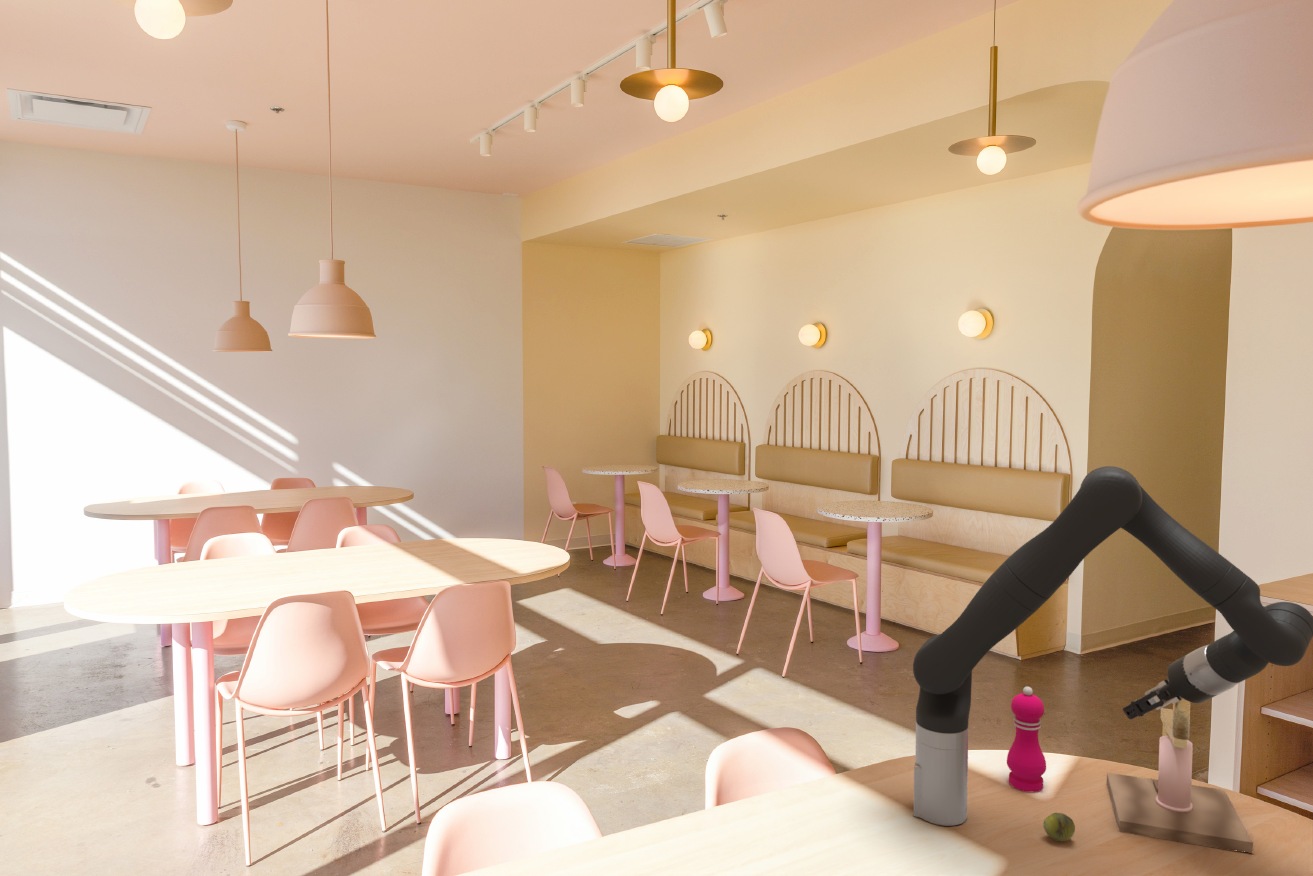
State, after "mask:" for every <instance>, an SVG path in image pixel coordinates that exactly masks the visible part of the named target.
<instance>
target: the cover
mask: <svg viewBox="0 0 1313 876" xmlns="http://www.w3.org/2000/svg"><path fill="white" fill-rule="evenodd" d="M1158 745H1159V746H1158V749H1159V750H1158V775H1157V776H1158V777H1157V778H1158V779H1157V780H1158V795H1157V796H1156V803H1157V804H1158V805H1159V806H1161V807H1162V808H1164V809H1167V810H1170V811H1174V812H1180V813H1186V812H1190V811H1192V807H1193V805H1192V803H1191V785H1192V780H1193V779H1192V776H1193V772H1192V771H1193V748H1194V747H1193V745H1194V743H1193V742H1192V741H1191V740H1189V739H1188V740H1187V748H1180V747H1174V746H1173V744H1172V742H1171V740H1170V737H1169V736H1160V737H1159V743H1158Z"/></svg>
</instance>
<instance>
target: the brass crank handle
mask: <svg viewBox="0 0 1313 876" xmlns="http://www.w3.org/2000/svg"><path fill="white" fill-rule="evenodd" d="M1159 717H1160V720H1161V722H1162V736H1169V737H1170V740H1171V742H1172V744H1173V746H1174V747H1180V748H1187V740H1189V739H1190V727H1191V723H1190V722H1191V702H1189V701H1187V700H1185V699H1183V698H1182V700H1180V701H1178V702H1176V703H1174V704H1173V703H1172V708H1166V707H1163V708H1161V709H1160V716H1159ZM1162 736H1161V737H1162Z"/></svg>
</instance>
